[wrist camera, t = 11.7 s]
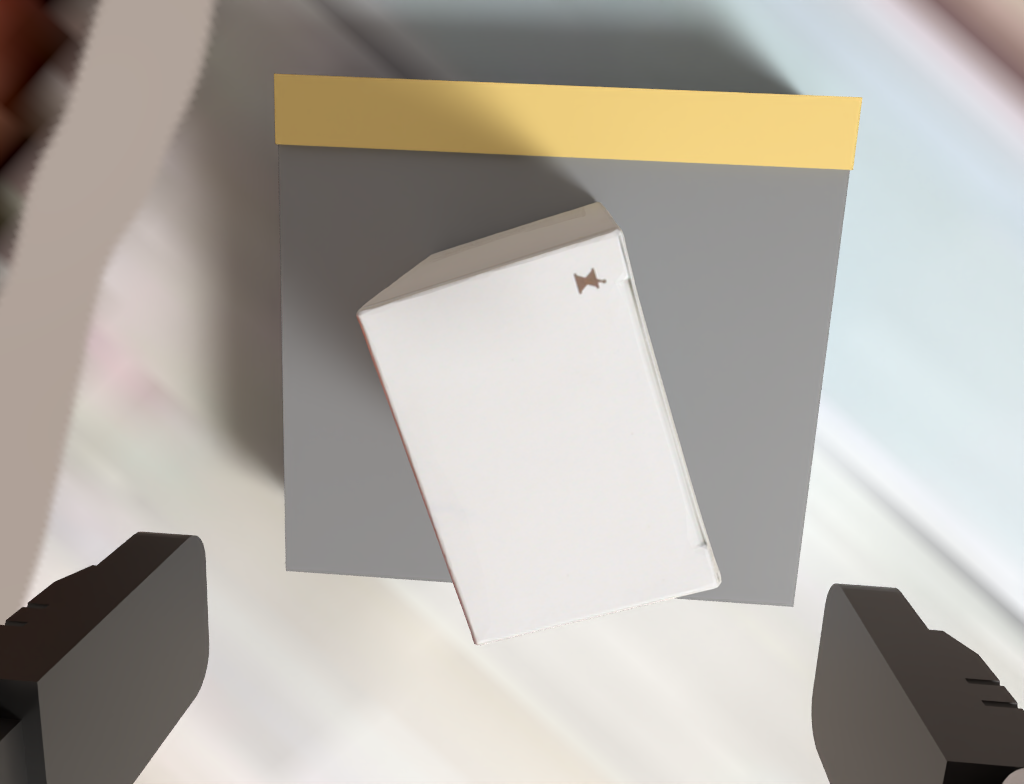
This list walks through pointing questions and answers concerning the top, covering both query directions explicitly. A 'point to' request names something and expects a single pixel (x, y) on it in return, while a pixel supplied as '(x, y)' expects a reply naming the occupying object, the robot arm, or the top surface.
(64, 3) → the top surface
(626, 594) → the small box
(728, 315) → the loading dock
